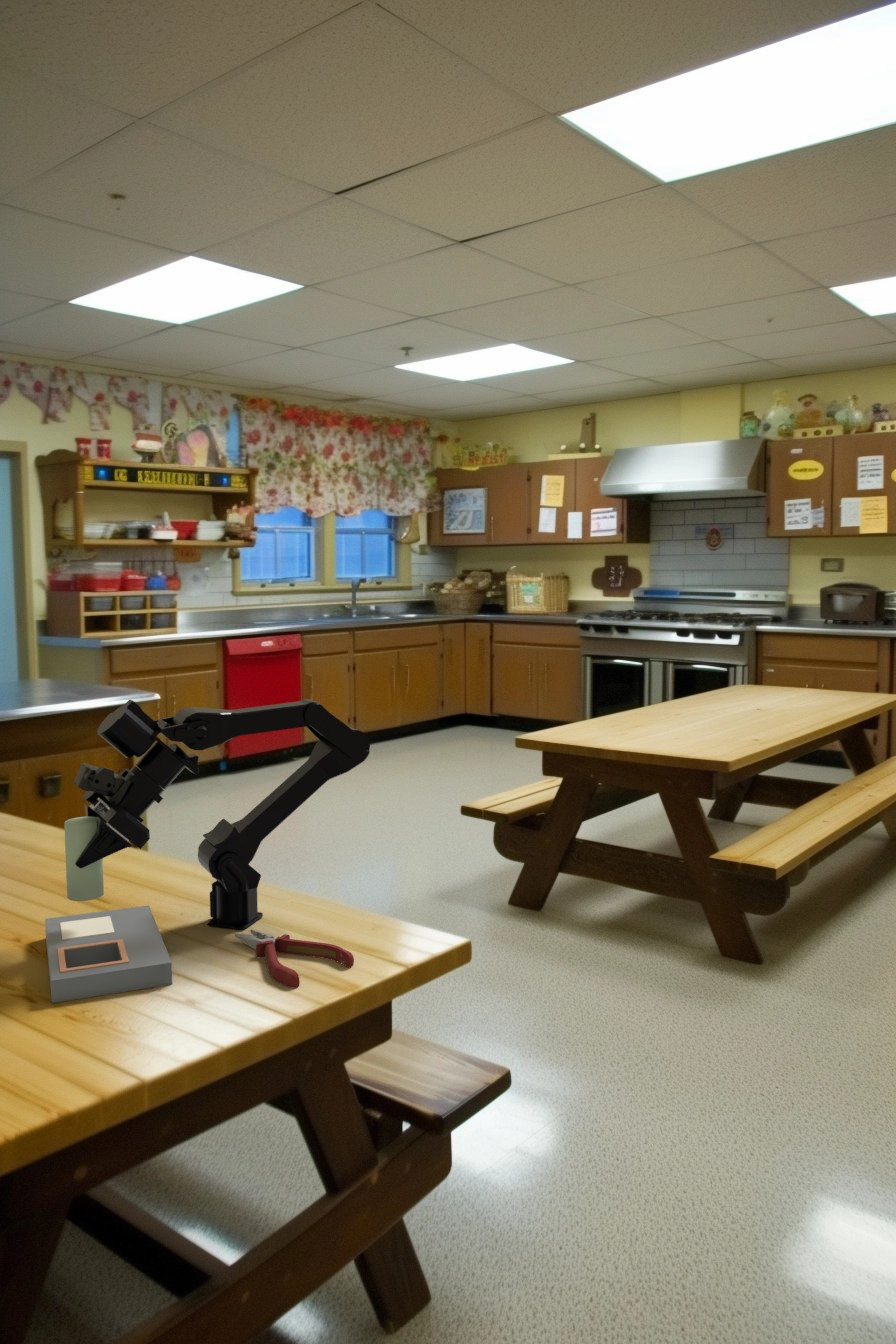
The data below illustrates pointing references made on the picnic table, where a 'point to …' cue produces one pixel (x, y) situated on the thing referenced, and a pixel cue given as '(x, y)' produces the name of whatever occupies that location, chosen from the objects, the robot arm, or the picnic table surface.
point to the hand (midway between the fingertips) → (74, 861)
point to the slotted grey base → (105, 953)
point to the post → (79, 880)
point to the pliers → (284, 944)
